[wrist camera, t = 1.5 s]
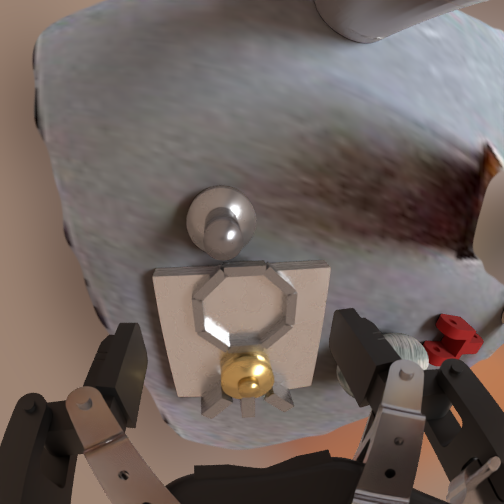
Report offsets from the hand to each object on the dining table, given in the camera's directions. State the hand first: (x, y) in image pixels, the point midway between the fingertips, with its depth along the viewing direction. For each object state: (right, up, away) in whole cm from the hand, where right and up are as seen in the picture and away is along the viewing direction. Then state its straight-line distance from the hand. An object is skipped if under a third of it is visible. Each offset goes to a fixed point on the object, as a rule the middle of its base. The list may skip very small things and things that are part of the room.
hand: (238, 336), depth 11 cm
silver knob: (-2, +7, +17) cm, 18 cm away
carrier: (-1, -6, +22) cm, 23 cm away
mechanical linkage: (+36, -11, +30) cm, 48 cm away
